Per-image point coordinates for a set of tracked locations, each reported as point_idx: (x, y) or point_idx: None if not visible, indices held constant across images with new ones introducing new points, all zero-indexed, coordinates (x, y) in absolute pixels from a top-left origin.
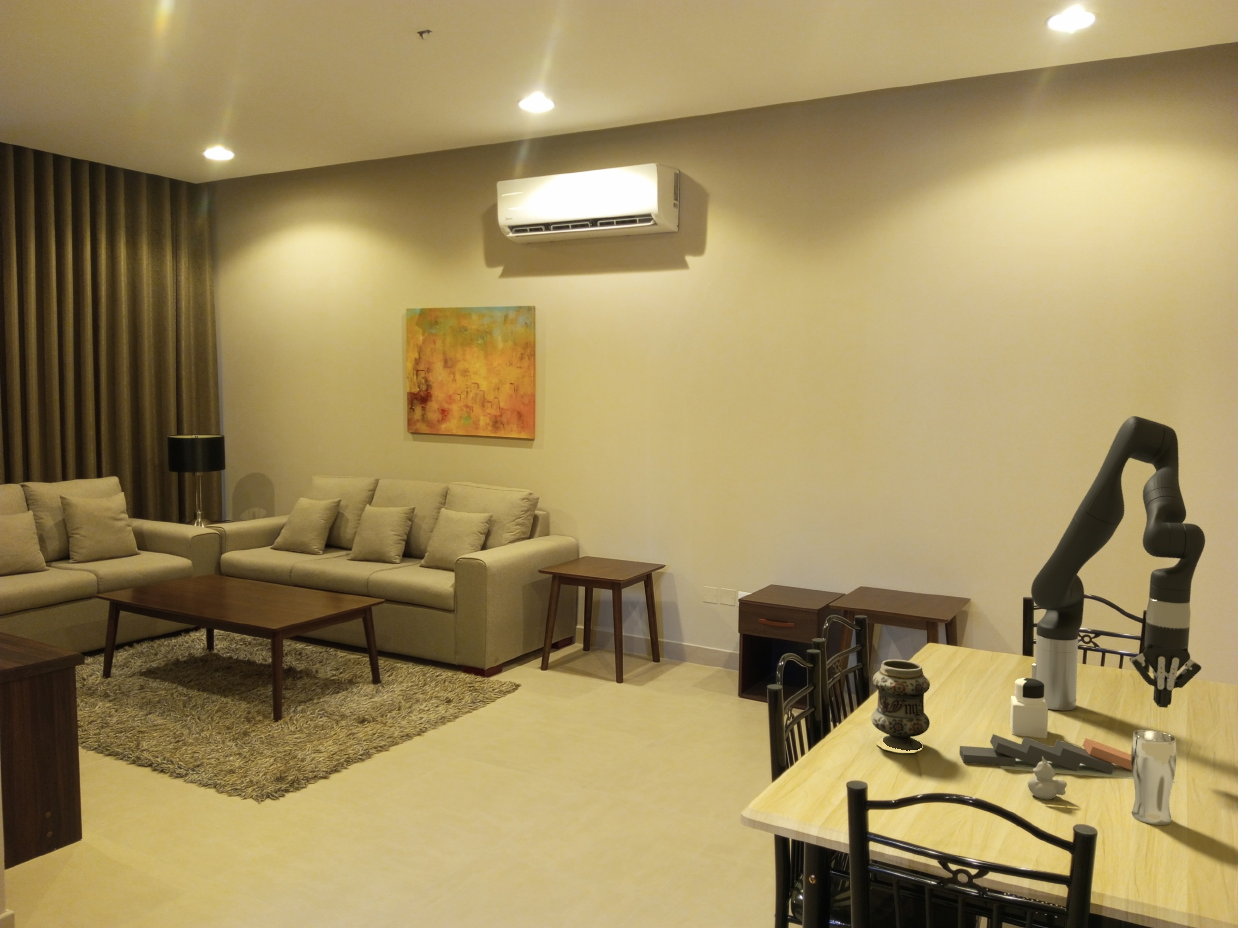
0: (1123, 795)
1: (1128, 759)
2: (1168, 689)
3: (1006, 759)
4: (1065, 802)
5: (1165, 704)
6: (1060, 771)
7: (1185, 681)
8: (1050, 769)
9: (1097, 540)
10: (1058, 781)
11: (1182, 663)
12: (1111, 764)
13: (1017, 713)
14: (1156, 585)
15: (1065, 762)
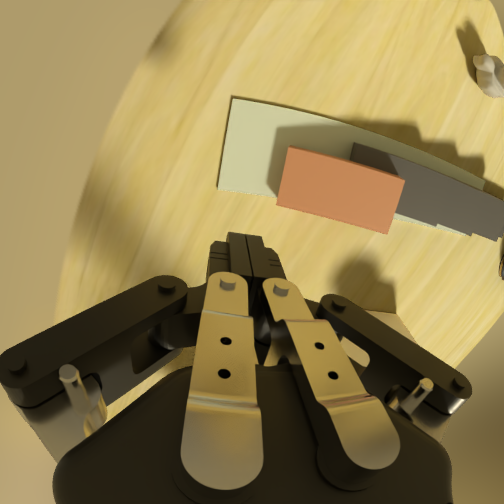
0: (377, 49)
1: (323, 158)
2: (235, 275)
3: None
4: (465, 52)
5: (239, 236)
6: (429, 161)
7: (130, 298)
8: None
9: None
10: (493, 62)
11: (131, 426)
12: (361, 148)
13: (410, 338)
14: None
15: None
